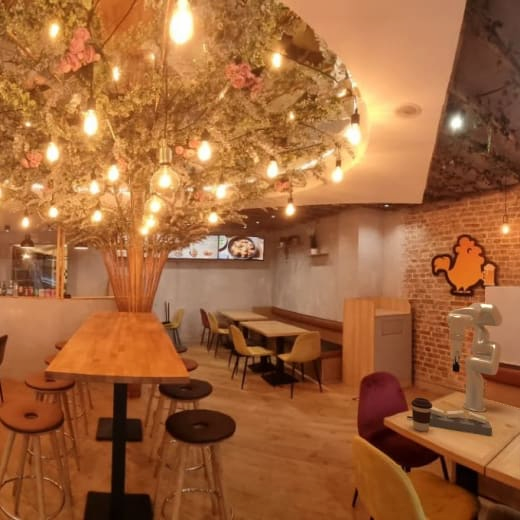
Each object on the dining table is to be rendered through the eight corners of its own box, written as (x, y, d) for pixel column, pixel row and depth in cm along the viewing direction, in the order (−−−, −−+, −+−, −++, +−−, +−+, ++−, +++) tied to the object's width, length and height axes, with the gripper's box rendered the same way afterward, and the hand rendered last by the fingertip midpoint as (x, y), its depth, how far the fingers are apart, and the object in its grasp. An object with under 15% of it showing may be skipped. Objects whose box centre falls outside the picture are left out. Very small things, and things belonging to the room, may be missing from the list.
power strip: (407, 416, 229) (407, 407, 229) (488, 429, 215) (488, 420, 215) (406, 422, 220) (407, 413, 220) (491, 436, 205) (492, 426, 205)
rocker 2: (467, 414, 218) (468, 410, 218) (484, 420, 215) (485, 416, 215) (468, 417, 213) (469, 413, 213) (485, 423, 210) (486, 419, 210)
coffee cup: (427, 426, 215) (428, 397, 216) (433, 433, 205) (435, 403, 206) (408, 424, 216) (409, 395, 217) (413, 431, 206) (414, 401, 207)
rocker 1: (426, 408, 225) (427, 404, 225) (442, 414, 222) (443, 410, 222) (426, 411, 221) (428, 407, 220) (442, 417, 218) (443, 413, 218)
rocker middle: (447, 414, 221) (446, 410, 222) (463, 414, 219) (462, 409, 219) (448, 417, 217) (447, 413, 217) (464, 417, 214) (463, 412, 214)
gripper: (448, 335, 235) (447, 367, 234) (450, 339, 220) (449, 373, 220) (463, 336, 232) (462, 369, 231) (466, 340, 218) (464, 375, 217)
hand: (455, 371), depth 226 cm, fingers closed
